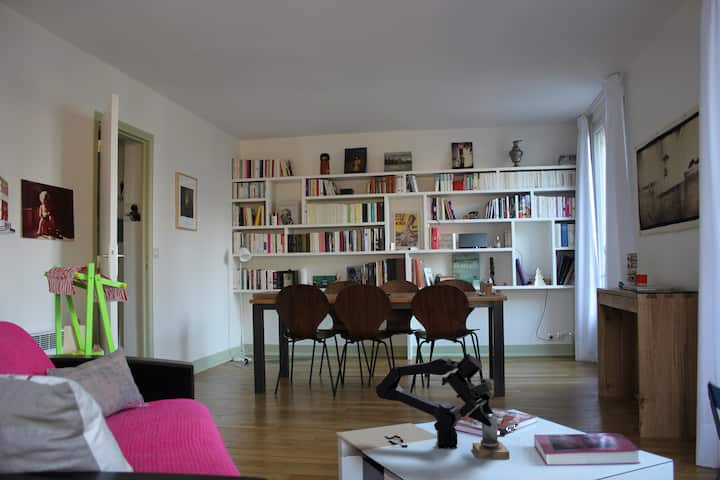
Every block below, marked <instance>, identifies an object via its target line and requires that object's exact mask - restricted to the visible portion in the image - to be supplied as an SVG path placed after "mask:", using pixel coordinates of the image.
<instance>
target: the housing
mask: <svg viewBox="0 0 720 480" xmlns="http://www.w3.org/2000/svg"><path fill="white" fill-rule="evenodd" d="M485 415H486V416H487V418H488V419H489V420H490V422H491V424H492V425H491V426H490V427H489V426H487V425H485V424H483V423H481V431H482V432H481V434H482V435H481V436H482V437H481V440H480V443H481V445H482V446H484V447H489V448H495V447H498V446H499V442H500V441H499V440H498V435H497V419H498V417H497V416H496V415H495V416H493V414H485Z"/></svg>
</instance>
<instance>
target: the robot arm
mask: <svg viewBox="0 0 720 480" xmlns="http://www.w3.org/2000/svg"><path fill="white" fill-rule="evenodd" d="M482 369H483V364H482V363H481V362H480V360H479V359H477V358H476V357H474V356H473V355H471V354H470V353H467V354H465V355H464V356H463V358H462V359H461V360H460V361H455V360H452V358H450V357H449V356H442V357H440V358H436V359H433V360H430V361H427V362H418V363H413V364H412V363H411V364H405V365H404V364H403V365H395V366H393V367H392V368H391V369H390V370H389V372H388V373H387V375H386V376H385V377H384V378H383V379H382V380H381V382H380V383H378V384H377V385H376V388H375V393H376V396H377V397H378V398H379V399H380V400H381V399H382V400H386V401H392V402H393V401H394V402H395V401H396V402H400V403H402V404H404V405H407V406H409V407H410V408H411V407H412V408H413V409H417V410H419V411H420V412H423V413H426V414H428V415H431V416H432V417H433V418H434V419H435V420H436V422H435V423H434V424H433V427H434V429H435V431H436V441H435V444H436V447H438V449H440V450H441V449H458V444H459V443H458V432H457V431H456V428H455V427H457V425H458V423H459V422H460V421H461V420H462V418H465V417H467V418H470V419H473V420H474V421H477V422H479V423H481V424H482V423H483V424H485V425H487V426H489V427H490V426H491V425H492V424H491V422H490V420H489V419H488V418H487V416H486V415H485V414H493V416H495V417H496V415H495V413H494V412H493V409H492V407H491V402H492V397H493V396H494V395H493V394H492V393H491V391H492V390H493V387H492V384H493V383H492V382H491V381H490V380H489V379H487V378H484V379H481V380H480V383H479V384H474V383H470V382H469V381H468V380H467V379H473V377H474V376H475V375H476V374H478V372H480V371H481V370H482ZM453 371H455V372H453ZM448 373H449V374H448ZM424 374H427V375H432V376H444V377H442V378H441V380H442V381H441V386H442V387H443V386H446V385H448V386H449V387H451V389H452V390H453V391H454V392H455V394H456V396H455V397H456V398H457V399H460V400H462V402H463V403H464V404H463V405H462V406H461V407H460V408H459V407H457V404H455V403H451V402H449V401H447V400H444V401H442V402H441V403H437V402H434V401H433V400H430V399H427V398H424V397H421V396H419V395H418V394H415V393H412V392H411V391H410V392H409V391H408V390H405V389H404V388H402V386H401V385H400V382H401V379H402V377H407V376H415V375H416V376H417V375H424ZM445 375H447V376H445Z"/></svg>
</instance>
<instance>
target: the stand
mask: <svg viewBox="0 0 720 480" xmlns="http://www.w3.org/2000/svg"><path fill="white" fill-rule="evenodd" d="M472 450H473V452H474V454H476V456H477V458H478V459H480V460H481V459H484V460H485V459H510V451H509V450H508V449H507V447H506V446H505V445H504V443H502V442H500V441H499V446H498V447H495V448H489V447H484V446H482V445H481V442H472Z"/></svg>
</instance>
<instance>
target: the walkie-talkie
mask: <svg viewBox="0 0 720 480" xmlns="http://www.w3.org/2000/svg"><path fill="white" fill-rule="evenodd" d="M508 422H509V421H507V420H505V418H504V417H497V429H498V430H499V431H500V435H501V436H503V437H504V436H505V435H506V434H507V433H508V432H507V430H506V427H507V423H508ZM509 429H511V431H513V432H514V431H515V430H514V425H513V426H510V427H508V430H509ZM506 432H507V433H506ZM505 433H506V434H505ZM500 435H499V436H500Z"/></svg>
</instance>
